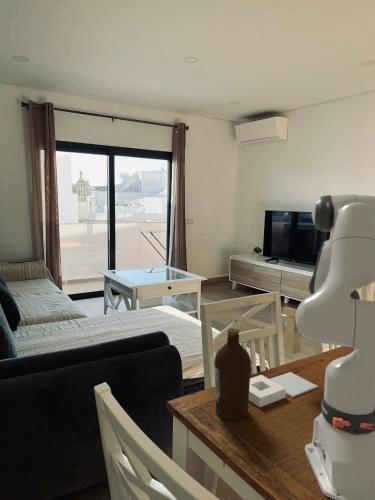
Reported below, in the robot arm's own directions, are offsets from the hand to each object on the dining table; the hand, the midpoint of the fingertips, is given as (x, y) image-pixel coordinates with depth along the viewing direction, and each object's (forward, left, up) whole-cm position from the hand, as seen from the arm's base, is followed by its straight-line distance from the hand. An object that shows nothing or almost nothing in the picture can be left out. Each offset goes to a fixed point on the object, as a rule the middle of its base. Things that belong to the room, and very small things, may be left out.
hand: (291, 328), depth 120 cm
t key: (+1, -1, -8) cm, 8 cm away
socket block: (-8, +9, -20) cm, 23 cm away
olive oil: (-20, +17, -20) cm, 33 cm away
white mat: (+1, -1, -20) cm, 20 cm away
